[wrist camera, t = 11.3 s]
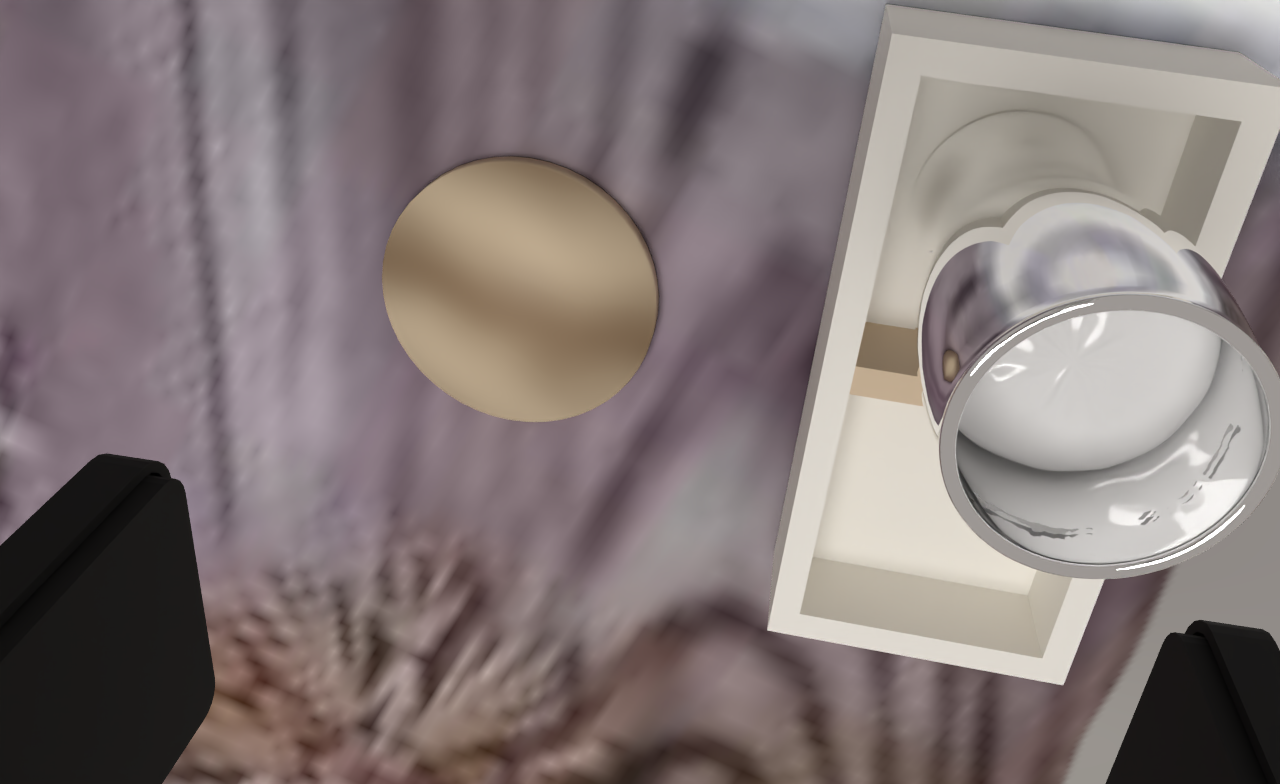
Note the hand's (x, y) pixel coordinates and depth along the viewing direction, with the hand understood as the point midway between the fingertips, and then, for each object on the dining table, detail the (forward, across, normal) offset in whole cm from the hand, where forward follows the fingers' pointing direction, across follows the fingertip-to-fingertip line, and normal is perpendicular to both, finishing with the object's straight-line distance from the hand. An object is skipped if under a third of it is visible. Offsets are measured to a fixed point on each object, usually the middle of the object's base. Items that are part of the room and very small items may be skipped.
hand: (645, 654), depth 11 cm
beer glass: (+27, -8, +4) cm, 29 cm away
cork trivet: (+28, +8, +10) cm, 31 cm away
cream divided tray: (+28, -8, +10) cm, 31 cm away
